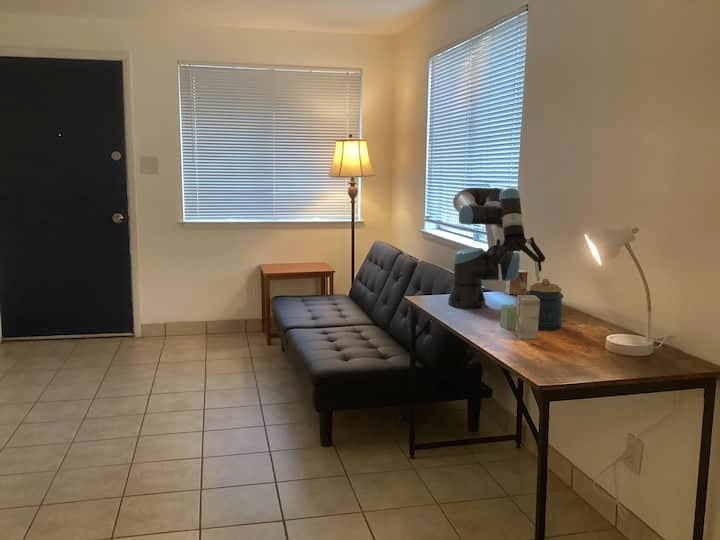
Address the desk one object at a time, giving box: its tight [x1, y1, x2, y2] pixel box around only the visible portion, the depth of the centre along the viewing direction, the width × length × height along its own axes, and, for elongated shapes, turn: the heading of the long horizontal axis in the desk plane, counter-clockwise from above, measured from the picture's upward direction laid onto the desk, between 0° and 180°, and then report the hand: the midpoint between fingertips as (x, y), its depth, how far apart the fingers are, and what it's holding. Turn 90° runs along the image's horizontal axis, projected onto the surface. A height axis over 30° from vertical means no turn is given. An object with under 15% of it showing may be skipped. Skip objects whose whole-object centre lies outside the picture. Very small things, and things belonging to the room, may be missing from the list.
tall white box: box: [514, 294, 540, 341], centre depth 216 cm, size 6×6×14 cm
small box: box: [505, 269, 529, 295], centre depth 286 cm, size 8×6×10 cm
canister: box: [526, 278, 565, 331], centre depth 230 cm, size 13×13×18 cm
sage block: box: [499, 304, 517, 331], centre depth 228 cm, size 4×4×8 cm
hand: (519, 280), depth 232 cm, fingers open, 13 cm apart
